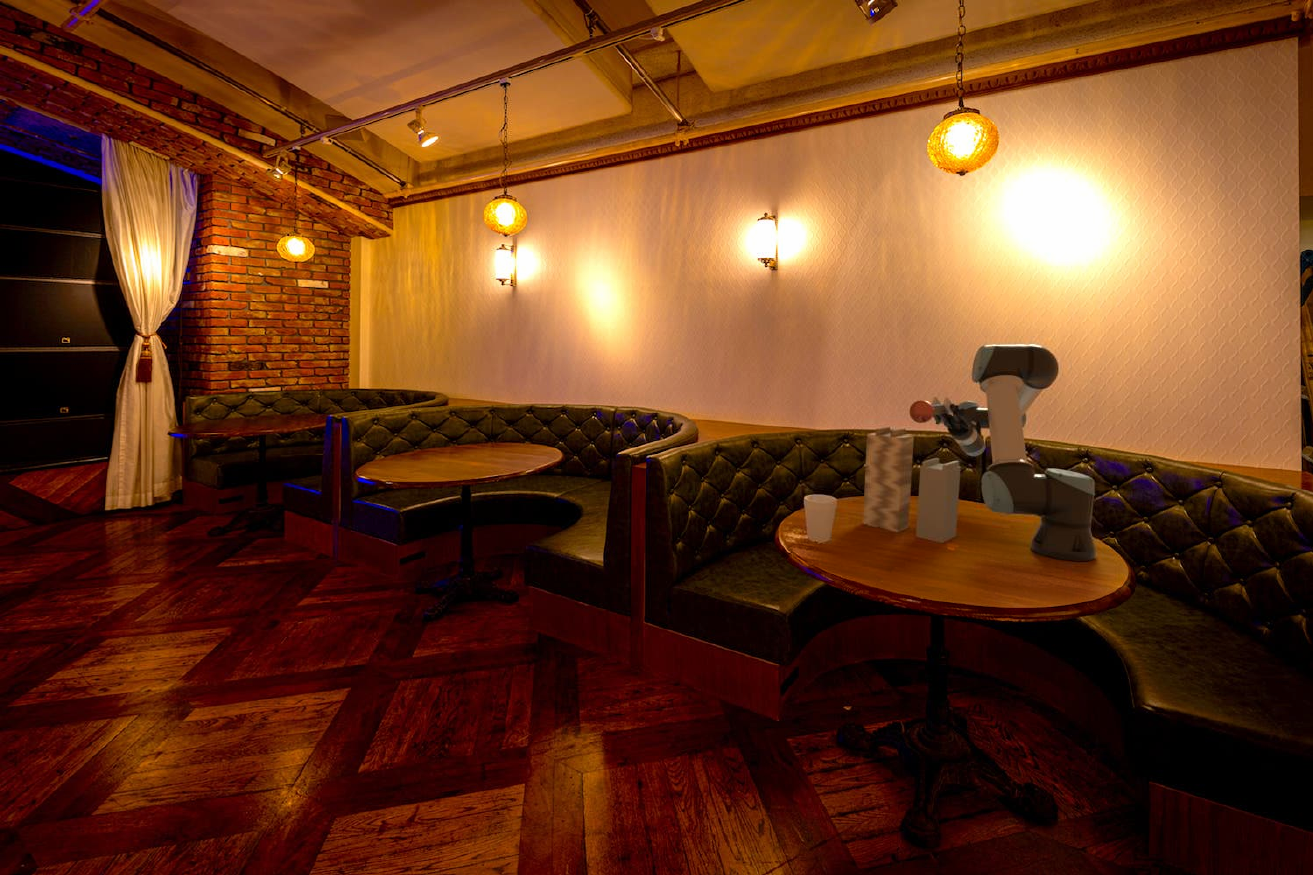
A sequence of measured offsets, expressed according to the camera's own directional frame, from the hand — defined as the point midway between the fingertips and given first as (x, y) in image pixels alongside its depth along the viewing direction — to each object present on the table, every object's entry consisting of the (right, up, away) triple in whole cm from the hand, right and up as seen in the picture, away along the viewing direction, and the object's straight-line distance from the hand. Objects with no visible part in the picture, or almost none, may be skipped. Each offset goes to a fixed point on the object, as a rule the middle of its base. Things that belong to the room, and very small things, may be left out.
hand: (939, 400), depth 194 cm
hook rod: (-2, -6, -1) cm, 7 cm away
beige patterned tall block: (-18, -41, 0) cm, 45 cm away
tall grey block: (-7, -43, -12) cm, 45 cm away
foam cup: (-43, -43, -14) cm, 63 cm away
